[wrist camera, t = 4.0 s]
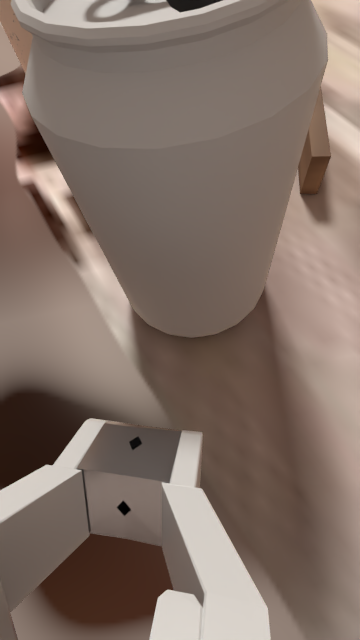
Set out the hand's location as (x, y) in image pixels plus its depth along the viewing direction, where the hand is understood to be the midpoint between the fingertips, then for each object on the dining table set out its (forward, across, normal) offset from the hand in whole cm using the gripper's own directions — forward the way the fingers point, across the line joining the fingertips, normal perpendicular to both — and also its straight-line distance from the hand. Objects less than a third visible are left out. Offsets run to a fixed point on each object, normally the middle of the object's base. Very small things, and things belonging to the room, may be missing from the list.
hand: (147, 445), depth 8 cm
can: (+10, 0, +2) cm, 11 cm away
